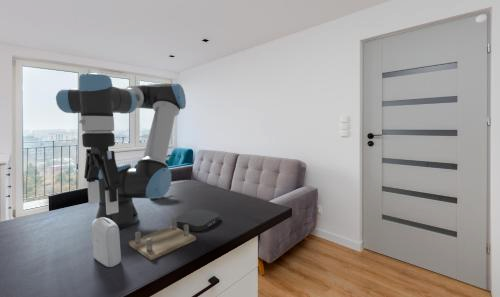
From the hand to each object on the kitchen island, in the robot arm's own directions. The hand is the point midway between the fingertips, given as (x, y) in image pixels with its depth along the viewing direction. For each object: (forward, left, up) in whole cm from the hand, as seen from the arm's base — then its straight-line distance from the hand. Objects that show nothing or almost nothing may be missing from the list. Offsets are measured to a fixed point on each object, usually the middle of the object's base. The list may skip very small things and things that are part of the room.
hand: (102, 207), depth 68 cm
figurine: (-45, +42, -16) cm, 64 cm away
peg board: (+3, +16, -16) cm, 23 cm away
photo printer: (0, 0, -16) cm, 16 cm away
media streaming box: (-2, +34, -16) cm, 38 cm away
